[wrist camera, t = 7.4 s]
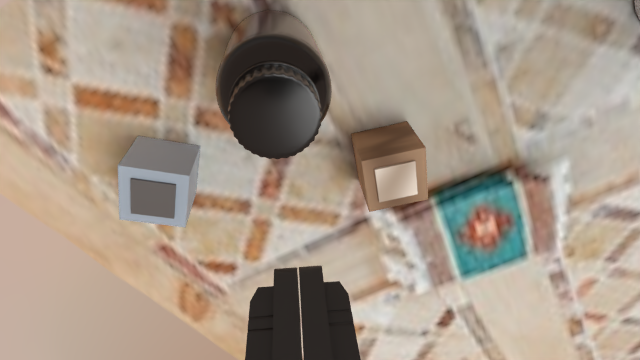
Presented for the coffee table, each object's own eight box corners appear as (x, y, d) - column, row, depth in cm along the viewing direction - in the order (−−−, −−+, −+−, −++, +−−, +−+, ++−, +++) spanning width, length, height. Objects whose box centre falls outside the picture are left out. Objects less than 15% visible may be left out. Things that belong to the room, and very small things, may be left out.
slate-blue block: (200, 145, 33) (189, 177, 29) (196, 192, 36) (184, 228, 31) (138, 135, 32) (116, 166, 28) (138, 184, 34) (118, 220, 30)
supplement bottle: (262, 114, 32) (256, 196, 22) (209, 41, 28) (173, 99, 18) (334, 70, 31) (363, 137, 20) (287, -12, 27) (294, 20, 17)
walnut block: (406, 120, 34) (426, 148, 29) (410, 168, 36) (428, 200, 32) (350, 133, 34) (361, 162, 29) (358, 179, 36) (369, 213, 32)
